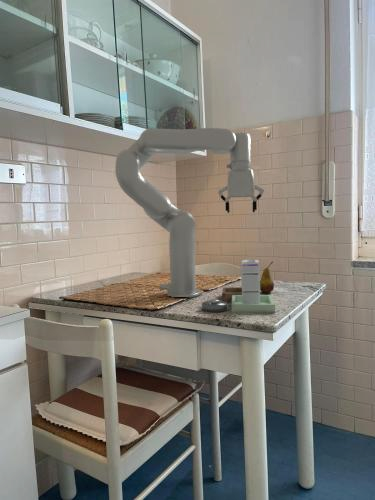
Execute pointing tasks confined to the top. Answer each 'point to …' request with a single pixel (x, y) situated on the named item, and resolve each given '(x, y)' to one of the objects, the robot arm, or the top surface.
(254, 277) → the syrup box
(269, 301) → the tray
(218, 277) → the top surface
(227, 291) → the collar
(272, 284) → the fruit
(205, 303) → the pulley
